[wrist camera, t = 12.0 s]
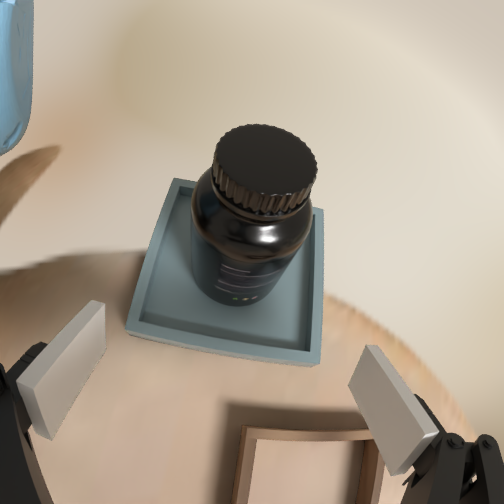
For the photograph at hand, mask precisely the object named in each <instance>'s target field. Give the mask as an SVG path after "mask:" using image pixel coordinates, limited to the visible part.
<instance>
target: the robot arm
mask: <svg viewBox="0 0 504 504" xmlns="http://www.w3.org/2000/svg"><path fill="white" fill-rule="evenodd" d="M33 4H34V3H33V0H0V156H1V155H3V154H5V153H7V152H8V151H10V150H11V149H12V148H14V147H15V146H16V145H17V144H18V142H19V141H20V140H21V138H22V137H23V135H24V133H25V131H26V129H27V126H28V122H29V118H30V113H31V104H32V85H33V20H34V18H33V17H34V12H33V11H34V10H33V9H34V5H33ZM105 351H106V331H105V303H102V302H98V301H94V300H91V301H90V302H89V303H88V304H87V305H86V306H85V307H84V308H83V309H82V310H81V311H80V312H79V313H78V314H77V315H76V316H75V317H74V318H73V319H72V320H71V321H70V322H69V323H68V324H67V325H66V326H65V327H64V328H63V329H62V330H61V331H60V332H59V333H58V334H57V335H56V337H55V338H54V339H53V340H52V341H51V342H50V343H49V344H46V343H43V342H39V343H37V344H35V345H33V346H31V347H30V348H29V349H28V350H27V352H26V353H25V355H23V356H22V357H21V358H20V360H18V361H17V362H16V363H15V364H14V365H13V366H12V367H11V369H10V370H9V371H8V372H7V373H5V370H4V367H3V365H2V364H1V363H0V504H54V503H53V501H52V498H51V496H50V493H49V491H48V489H47V486H46V484H45V481H44V478H43V476H42V473H41V470H40V467H39V464H38V461H37V458H36V455H35V452H34V449H33V445H32V442H31V438H30V435H29V432H28V429H29V427H30V426H31V424H32V426H33V428H34V430H35V433H36V434H39V435H41V436H43V437H45V438H47V439H49V440H51V441H52V440H53V438H54V436H55V434H56V433H57V431H58V429H59V427H60V425H61V424H62V422H63V420H64V418H65V417H66V415H67V413H68V411H69V410H70V408H71V406H72V405H73V403H74V401H75V399H76V398H77V396H78V394H79V393H80V391H81V389H82V388H83V386H84V385H85V383H86V381H87V380H88V378H89V376H90V375H91V373H92V372H93V370H94V368H95V367H96V365H97V364H98V362H99V360H100V359H101V357H102V356H103V354H104V353H105ZM348 386H349V388H350V390H351V392H352V395H353V397H354V399H355V401H356V403H357V405H358V407H359V409H360V411H361V413H362V415H363V417H364V420H365V422H366V424H367V426H368V428H369V430H370V432H371V434H372V436H373V439H374V441H375V443H376V445H377V447H378V449H379V451H380V454H381V456H382V458H383V460H384V462H385V464H386V467H387V469H388V471H389V473H390V475H391V476H396V475H400V474H404V473H406V472H407V471H408V469H409V468H410V467H411V466H412V465H413V467H414V469H415V471H414V472H413V473H412V474H411V475H410V476H409V477H408V478H407V479H406V480H405V481H404V483H403V484H402V485H403V486H404V485H405V484H406V483H407V482H408V485H407V488H406V491H405V493H404V496H403V499H402V501H401V504H504V464H503V460H502V457H501V453H500V450H499V446H498V443H497V441H496V440H495V439H494V438H493V437H491V436H490V435H486V434H482V435H480V436H479V437H478V439H477V440H476V441H475V442H465V441H464V439H463V438H462V437H461V436H459V435H457V434H455V433H447V432H446V431H445V430H444V428H443V427H442V425H441V424H440V422H439V421H438V420H437V418H436V417H435V415H434V414H433V413H432V411H431V410H430V409H429V407H428V406H427V404H426V403H425V401H424V400H423V399H422V398H420V397H419V396H418V395H416V394H413V393H412V391H411V390H410V389H409V387H408V386H407V384H406V383H405V382H404V380H403V379H402V377H401V376H400V375H399V373H398V372H397V371H396V369H395V368H394V367H393V365H392V364H391V362H390V361H389V360H388V358H387V357H386V356H385V354H384V353H383V352H382V350H381V349H380V348H379V346H378V345H366V346H365V348H364V350H363V353H362V355H361V357H360V360H359V362H358V364H357V367H356V369H355V371H354V373H353V375H352V378H351V380H350V382H349V384H348ZM475 475H477V480H476V481H475V482H473V481H472V478H473V477H474V476H475Z"/></svg>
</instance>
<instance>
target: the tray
mask: <svg viewBox="0 0 504 504" xmlns="http://www.w3.org/2000/svg"><path fill="white" fill-rule="evenodd" d="M196 183H197V182H195V181H189V180H183V179H178V178H174V179H173V181H172V183H171V186H170V189H169V191H168V194H167V196H166V199H165V202H164V205H163V207H162V210H161V213H160V215H159V218H158V221H157V224H156V227H155V229H154V232H153V235H152V238H151V241H150V244H149V247H148V250H147V253H146V256H145V259H144V263H143V266H142V269H141V272H140V276H139V279H138V282H137V286H136V289H135V292H134V296H133V300H132V303H131V307H130V310H129V314H128V318H127V322H126V326H125V330H126V331H127V332H128V333H129V335H132V336H135V337H139V338H143V339H147V340H152V341H156V342H160V343H164V344H169V345H173V346H178V347H182V348H187V349H192V350H197V351H202V352H207V353H213V354H218V355H224V356H230V357H236V358H242V359H249V360H255V361H263V362H270V363H278V364H286V365H295V366H304V367H313V366H315V365H318V364H320V356H321V339H322V318H323V284H324V282H323V281H324V214H323V209H320V208H316V207H312V209H313V219H312V225H311V228H310V231H309V233H308V235H307V237H306V239H305V241H304V242H303V244H302V246H301V247H300V249H299V250H298V252H297V253H296V255H295V256H294V258H293V260H292V261H291V263H290V264H289V266H288V267H287V269H286V270H285V272H284V273H283V275H282V276H281V278H280V279H279V281H278V282H277V284H276V285H275V287H274V288H273V289H272V291H271V292H270V293H269V294H268V295H267V296H266V297H265V298H263V299H262V300H260V301H259V302H257V303H254V304H251V305H248V306H241V307H233V306H227V305H223V304H220V303H218V302H216V301H214V300H212V299H211V298H209V297H208V296H207V295H205V294H204V293H203V292H202V290H201V289H200V288H199V287H198V285H197V283H196V281H195V279H194V277H193V273H192V268H191V231H190V212H191V198H192V193H193V190H194V187H195V185H196Z"/></svg>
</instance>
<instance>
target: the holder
mask: <svg viewBox="0 0 504 504" xmlns="http://www.w3.org/2000/svg"><path fill="white" fill-rule="evenodd" d="M257 439H266V440H282V441H351V440H365V445H364V453H363V461H362V468H361V475H360V481H359V488H358V493H357V499H356V504H378V502H379V497H380V491H381V486H382V480H383V473H384V466H385V462H384V460H383V458H382V456H381V454H380V451H379V449H378V447H377V445H376V443H375V441H374V439H373V436H372V434H371V432H370V430H369V429H354V430H299V429H280V428H266V427H256V426H246V425H242V430H241V437H240V445H239V452H238V459H237V465H236V472H235V479H234V486H233V493H232V499H231V504H247V503H248V497H249V490H250V484H251V477H252V470H253V463H254V456H255V449H256V442H257Z"/></svg>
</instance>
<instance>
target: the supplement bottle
mask: <svg viewBox="0 0 504 504" xmlns="http://www.w3.org/2000/svg"><path fill="white" fill-rule="evenodd" d="M316 166H317V162H316V160H315V156H314V155H313V153H312V152H311V150H310V149H309V148H308V147H307V146H306V144H305V143H304V142H303V141H301V140H300V138H299V137H296V136H294V135H293V134H292V133H290V132H287V131H285V130H284V129H281V128H277V127H275V126H269V125H266V124H263V125H260V124H253V125H252V124H247V125H245V126H239V127H237V128H234V129H232V130H231V131H229V132H226V133H225V135H224V136H223V137H221V138H220V141H219V142H218V143H217V145H216V150H215V153H214V160H213V164H212V167H210V168H209V169H208V170H207V171H206V172H205V173H204V174H203V175H202V176H201V177H200V179H199V180H198V182H197V183H196V185H195V187H194V190H193V193H192V198H191V212H190V231H191V268H192V273H193V277H194V279H195V281H196V283H197V285H198V287H199V288H200V289H201V290H202V292H203V293H204V294H205V295H207V296H208V297H209V298H211V299H212V300H214V301H216V302H218V303H220V304H223V305H227V306H233V307H241V306H248V305H251V304H254V303H257V302H259V301H260V300H262V299H263V298H265V297H266V296H267V295H268V294H269V293H270V292H271V291H272V289H273V288H274V287H275V285H276V284H277V282H278V281H279V279H280V278H281V276H282V275H283V273H284V272H285V270H286V269H287V267H288V266H289V264H290V263H291V261H292V260H293V258H294V256H295V255H296V253H297V252H298V250H299V249H300V247H301V246H302V244H303V242H304V241H305V239H306V237H307V235H308V233H309V231H310V228H311V225H312V219H313V209H312V203H311V199H310V192H311V188H312V186H313V184H314V182H315V180H316V174H317V170H318V169H317V167H316Z"/></svg>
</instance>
